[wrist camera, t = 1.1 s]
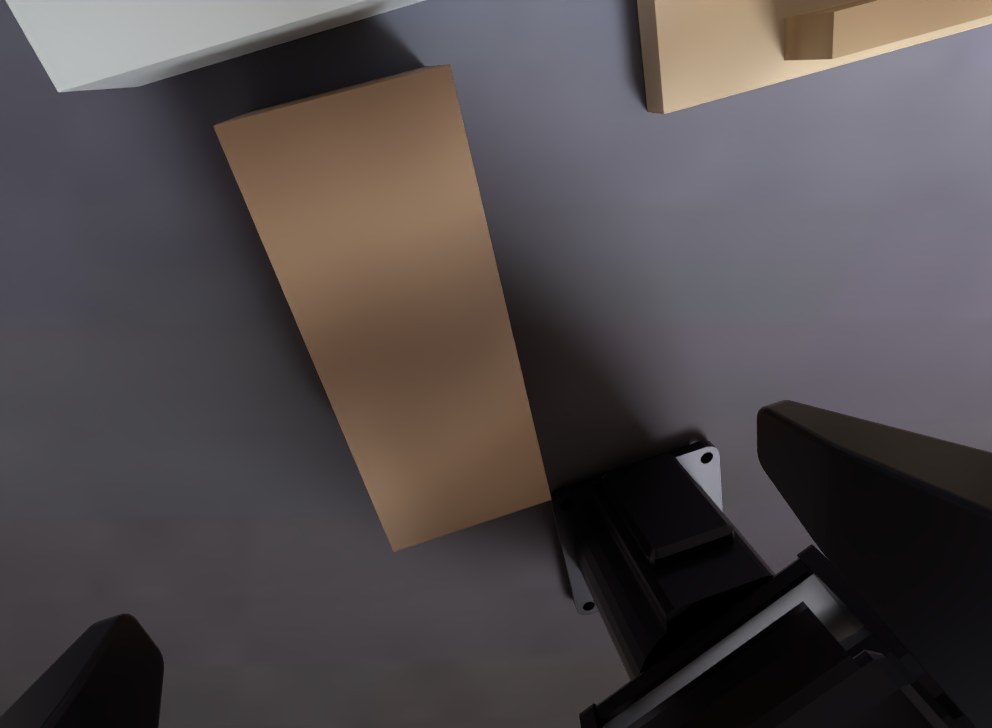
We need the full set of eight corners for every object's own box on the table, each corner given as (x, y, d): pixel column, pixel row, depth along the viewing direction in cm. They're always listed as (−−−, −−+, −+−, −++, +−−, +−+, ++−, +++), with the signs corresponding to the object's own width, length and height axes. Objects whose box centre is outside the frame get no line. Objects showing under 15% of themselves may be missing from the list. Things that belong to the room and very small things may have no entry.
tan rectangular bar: (512, 417, 20) (551, 499, 16) (385, 457, 20) (393, 551, 16) (424, 66, 15) (449, 64, 11) (249, 111, 15) (213, 125, 11)
